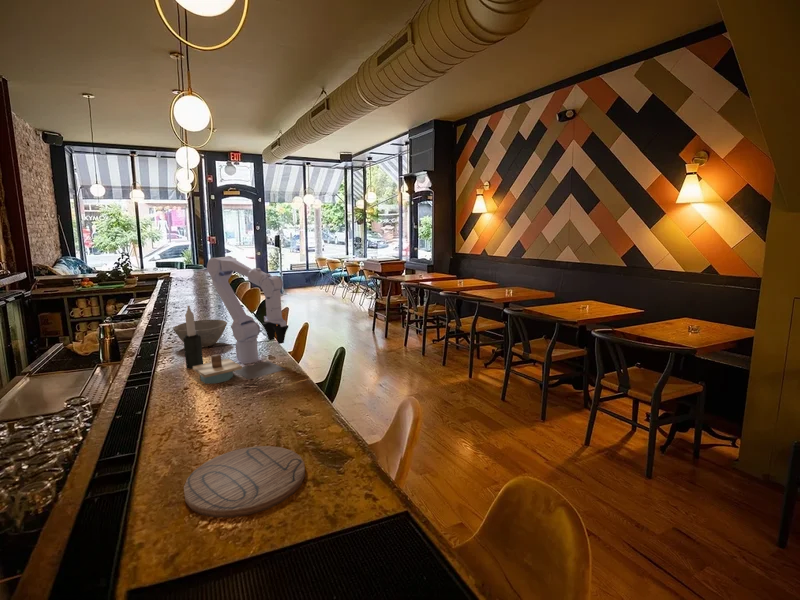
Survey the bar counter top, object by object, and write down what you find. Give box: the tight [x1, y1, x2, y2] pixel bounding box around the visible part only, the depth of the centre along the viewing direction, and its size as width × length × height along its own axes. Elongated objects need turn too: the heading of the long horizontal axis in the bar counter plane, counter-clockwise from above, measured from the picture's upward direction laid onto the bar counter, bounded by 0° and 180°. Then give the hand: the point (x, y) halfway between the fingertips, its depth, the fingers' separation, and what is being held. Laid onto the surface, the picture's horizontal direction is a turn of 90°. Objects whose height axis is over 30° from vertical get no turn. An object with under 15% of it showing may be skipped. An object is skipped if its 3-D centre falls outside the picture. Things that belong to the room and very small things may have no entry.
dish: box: [199, 371, 234, 384], centre depth 163 cm, size 10×10×4 cm
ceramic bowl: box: [172, 319, 228, 348], centre depth 209 cm, size 22×23×10 cm
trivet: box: [183, 445, 306, 518], centre depth 99 cm, size 25×25×2 cm
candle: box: [182, 305, 204, 370], centre depth 175 cm, size 5×5×25 cm
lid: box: [192, 353, 243, 378], centre depth 163 cm, size 13×13×5 cm
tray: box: [233, 360, 287, 380], centre depth 172 cm, size 15×15×1 cm
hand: (276, 341), depth 178 cm, fingers open, 7 cm apart
